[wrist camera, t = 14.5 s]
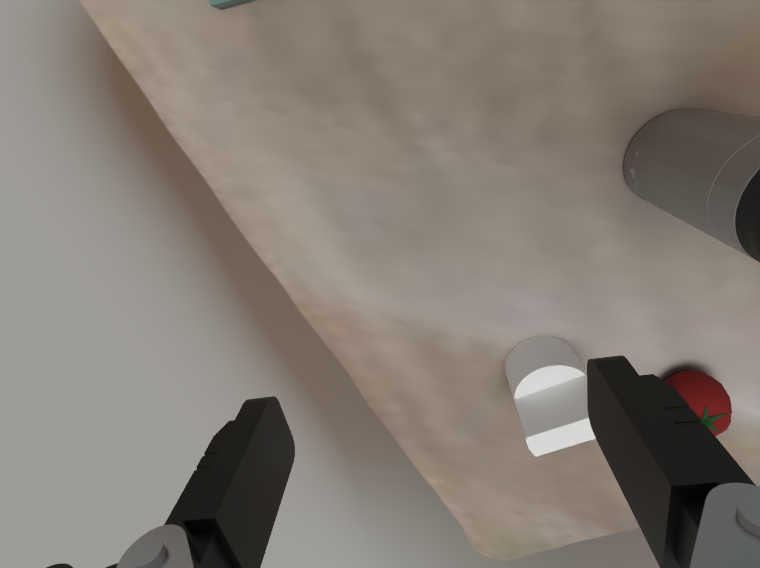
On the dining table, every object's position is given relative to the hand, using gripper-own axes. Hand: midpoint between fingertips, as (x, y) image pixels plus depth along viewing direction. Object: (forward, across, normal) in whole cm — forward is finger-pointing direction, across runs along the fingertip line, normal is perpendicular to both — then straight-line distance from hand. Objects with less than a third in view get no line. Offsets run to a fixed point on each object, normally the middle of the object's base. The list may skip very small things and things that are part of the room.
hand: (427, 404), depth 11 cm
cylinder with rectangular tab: (+38, -11, +29) cm, 49 cm away
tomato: (+38, -28, +35) cm, 59 cm away
